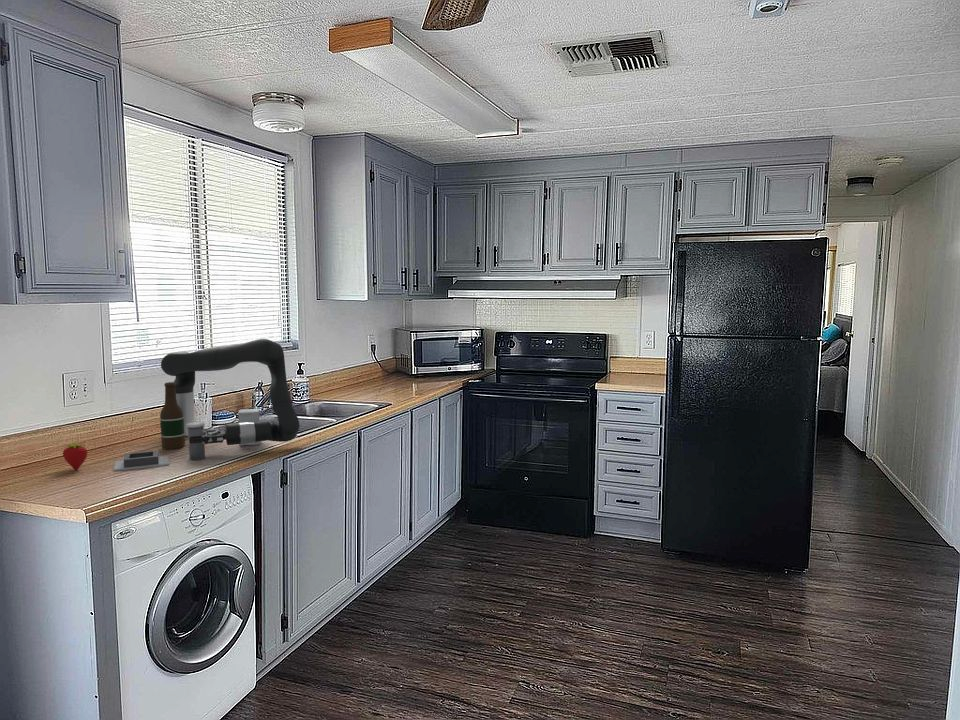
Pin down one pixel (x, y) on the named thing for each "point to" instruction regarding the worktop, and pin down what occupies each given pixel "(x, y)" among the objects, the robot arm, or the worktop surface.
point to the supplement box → (249, 419)
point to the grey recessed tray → (141, 461)
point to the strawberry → (75, 455)
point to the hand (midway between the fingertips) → (189, 438)
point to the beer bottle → (171, 420)
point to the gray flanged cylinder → (196, 448)
